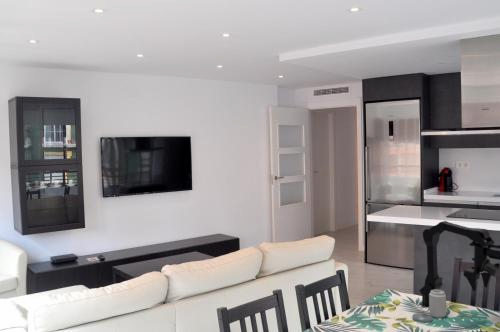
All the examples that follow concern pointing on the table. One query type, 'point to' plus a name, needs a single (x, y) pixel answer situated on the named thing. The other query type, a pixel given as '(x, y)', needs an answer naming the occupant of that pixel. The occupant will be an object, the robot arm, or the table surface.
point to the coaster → (422, 317)
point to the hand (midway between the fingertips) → (480, 289)
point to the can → (437, 303)
